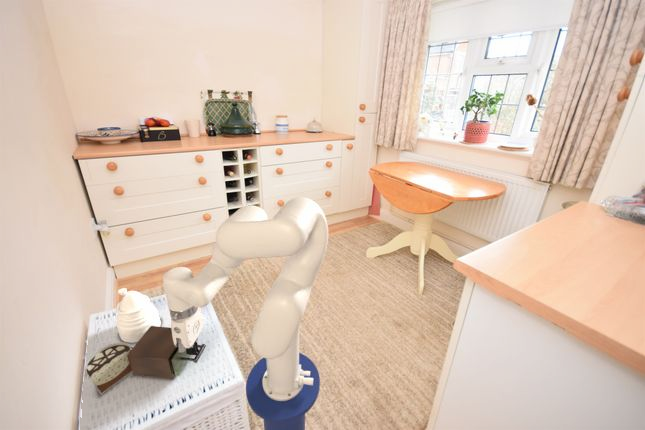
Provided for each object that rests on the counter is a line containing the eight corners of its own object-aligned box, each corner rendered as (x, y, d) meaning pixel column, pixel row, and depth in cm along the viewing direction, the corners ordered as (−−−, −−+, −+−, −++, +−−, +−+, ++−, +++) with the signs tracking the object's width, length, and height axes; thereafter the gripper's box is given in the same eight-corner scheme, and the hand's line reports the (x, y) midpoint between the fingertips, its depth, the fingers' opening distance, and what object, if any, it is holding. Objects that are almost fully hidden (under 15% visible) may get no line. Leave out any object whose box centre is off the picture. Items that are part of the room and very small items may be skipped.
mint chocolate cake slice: (128, 357, 95) (120, 335, 91) (139, 366, 92) (131, 343, 88) (84, 387, 85) (74, 364, 81) (95, 399, 82) (84, 374, 78)
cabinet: (191, 347, 99) (187, 329, 96) (172, 379, 89) (167, 359, 85) (156, 344, 100) (150, 325, 97) (133, 375, 89) (126, 355, 86)
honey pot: (118, 347, 98) (103, 306, 91) (121, 322, 109) (108, 283, 101) (161, 334, 104) (150, 294, 97) (160, 311, 114) (150, 273, 107)
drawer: (210, 349, 98) (208, 334, 95) (195, 377, 88) (192, 362, 86) (162, 344, 99) (158, 329, 96) (143, 372, 90) (138, 356, 87)
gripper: (183, 328, 77) (192, 375, 85) (207, 291, 91) (214, 335, 98) (155, 325, 78) (167, 372, 85) (184, 289, 91) (192, 333, 99)
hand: (192, 352), depth 92 cm, fingers closed
